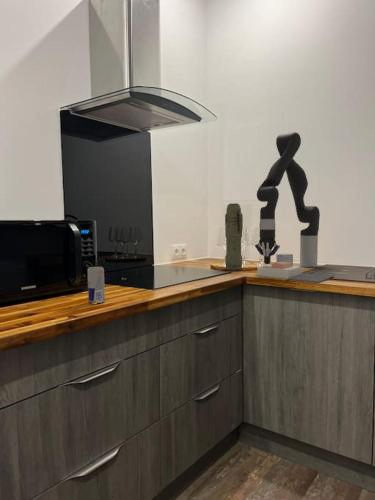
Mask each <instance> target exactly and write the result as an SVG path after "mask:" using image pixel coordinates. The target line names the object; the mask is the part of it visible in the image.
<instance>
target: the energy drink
mask: <svg viewBox="0 0 375 500" xmlns="http://www.w3.org/2000/svg"><path fill="white" fill-rule="evenodd" d="M87 291H88V292H87V293H88V294H87V295H88V303H89V304H90V303H102V302H104V303H105V302H106V296H105V295H106V293H105V291H106V289H105V270H104V267H103V266H90V267H88V268H87ZM102 304H103V303H102Z"/></svg>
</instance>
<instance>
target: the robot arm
mask: <svg viewBox="0 0 375 500" xmlns="http://www.w3.org/2000/svg"><path fill="white" fill-rule="evenodd" d="M301 138H302V137H301V135H300V133H298V132H296V131H293V132H291V131H290V132H287V133H282V134H278V135H277V137H276V140H275V145H276V149H277V152H278V154H279V156H280V157H279V158H278V159H277V160H276V161H275V162H274V163H273V164H272V166H271V167H270V169H269V172H268V174H267V176H266V178H265V179H264V180H263V181H262V183H261V184H260V185H259V187H258V189H257V191H256V198H257V200H258V201H259V202H262V203H266V202H267V203H266V205H265V206H262V207H261V208H260V209H259V225H258V226H259V235H258V236H259V241H258V243H257V244H255V245H254V247H255V248H256V250H257V251H258V253H259V254H260V256H263V263H264V264H265V265H271V262H272V261H271V259H272V258H271V257H272V256H274V255H275V254H277V252H278V250H279V249H280V247H281V245H280V244H277V241H276V208H277V206H278V205H277V204H278V200H279V196H280V193H279V189H278V188H277V187H278V186H280V184H281V182H282V179H283V177H284V175H285V174H286V176H287V180H288V181H287V182H288V185H289V187H290V190H291V193H292V197H293V201H294V206H295V207H294V208H295V212H296V215H297V219H298V221H299V222H300V223H302V224H308V226H307V227H306V228H303V229H301V230H300V235H299V236H300V238H299V243H300V244H299V249H300V250H299V267H302V268H317V267H318V252H319V251H318V245H319V244H318V243H319V242H318V241H319V231H320V219H321V218H320V216H321V214H320V209H319V207H318V206H316V205H315V206H314V205H313V206H312V205H311V206H310V205H309V206H308V205H305V200H304V197H305V194H306V192H307V189H308V186H309V182H308V179H307V174H306V172H305V170H304V169H303V168H302V166H301V165H300V164H298V162H296V160H295V159H294V157H295V156H296V154H297V152H298V151H299V149H300V146H301V144H302V139H301ZM285 172H286V173H285Z"/></svg>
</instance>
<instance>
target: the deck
mask: <svg viewBox="0 0 375 500" xmlns="http://www.w3.org/2000/svg"><path fill="white" fill-rule="evenodd" d="M301 274H303V267H302V266H300V265H299V266H297V265H293V266H292V267H288V268H284V269H279V268H271V264H265V265H263V266H258V267H257V274H256V275H257V276H258V277H264V278H265V277H266V278H268V277H269V278H277V279H286V280H288V278H291V277H294V276H297V275H301Z"/></svg>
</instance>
